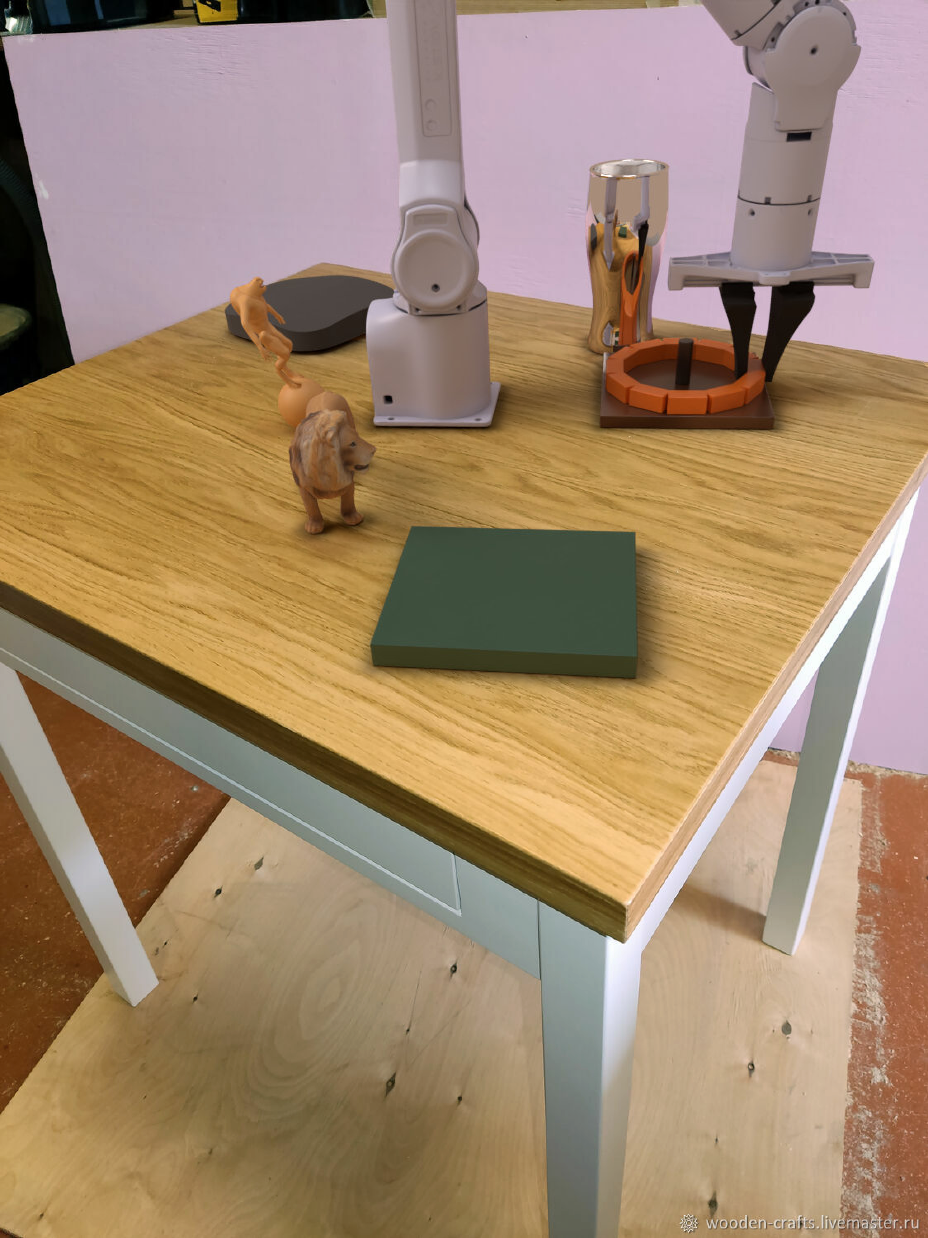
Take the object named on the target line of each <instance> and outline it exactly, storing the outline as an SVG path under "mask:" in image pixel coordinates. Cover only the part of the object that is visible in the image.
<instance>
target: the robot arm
mask: <svg viewBox="0 0 928 1238" xmlns="http://www.w3.org/2000/svg"><path fill="white" fill-rule="evenodd" d="M699 2H700V3H701V4H702V6H703V7H704V8H705V10H707V12H708V13H709V14H710V16H711V17H712V18H713V20H714V21H715V22H716V23H717V25H718V26H719V27H720V28H721V30H722V32H723V33H724V34H725V35H726V36H727V38H728V39H729V40H730V41H731V43H732V44H733V45H734V46H737V47H742V61H743V65H744V68H745V71H746V73H747V74H748V75H750V76H752V77H754V78H755V79H756V80H757V81H758V82H759V83H760V84H759V83H758V82H754V81H753V82H752V83H751V91H750V100H749V108H748V117H747V121H746V123H745V129H744V137H743V146H742V153H741V163H740V171H739V180H738V188H737V195H736V204H735V213H734V220H733V230H732V237H731V247H730V251H721V252H714V253H706V254H699V255H690V256H689V255H687V256H671V257H669V258H668V269H667V270H668V272H667V290H668V292H669V291H673V292H674V291H683V289H684V288H685V289H686V288H718V291H719V295H720V299H721V302H722V307H723V309H724V312H725V315H726V317H727V321H728V324H729V329H730V333H731V339H732V344H733V347H734V359H735V369H734V374H735V378H736V381H737V380H738V379H740V378H741V377H742V376H743V375H745V374H746V373H747V372H748V357H749V352H750V343H751V337H752V332H753V328H754V323H755V322H754V321H755V316H756V313H757V308H758V305H757V303H756V300H755V299H756V291H755V289H754V287H755V288H760V287H761V288H763V287H764V288H765V287H767V288H768V287H769V288H770V287H771V291H770V293H771V294H770V304H769V315H768V322H767V323H768V324H767V330H766V336H765V341H764V345H763V350H762V353H761V358H760V359H761V360H762V363H763V367H764V370H765V373H766V374H765V381H764V382H765V383H772V382H773V380H774V375H775V374H776V371H777V368H778V366H779V363H780V361H781V359H782V356H783V354H784V352H785V350H786V348H787V346H788V344H789V343H790V342H791V339H792V338H793V336H794V334H795V333H796V331H797V330H798V328H799V327H800V325H801V324H802V322H803V321H804V320H805V319H806V318H807V316H808V315H809V314H810V313H811V311H812V309H813V307H814V305H815V301H816V294H815V292H814V289H815V287H844V286H845V287H846V286H851V287H853V288H854V289H870V288H871V287H870V286H871V281H872V278H873V272H874V268H875V260H874V259H873V257H872V256H871V255H870V254H869V253H842V252H830V251H829V252H828V251H818V250H812V249H813V246H814V239H815V234H816V229H817V228H816V227H817V221H818V215H819V214H818V213H819V210H820V204H821V197H822V193H823V188H824V187H823V186H824V182H825V175H826V169H827V163H828V157H829V151H830V146H831V140H832V133H833V128H834V122H833V121H834V115H835V109H836V104H837V98H838V93H839V90H840V89H841V88H842V87H843V85H844V84H845V83H846V82H847V81H848V79H849V78H850V77H851V75H852V74H853V72H854V71H855V68H856V66H857V65H858V61H859V60H860V59H859V58H860V56H861V52H862V46H861V45H860V44H858V43H857V42H858V37H857V36H856V31H857V26H856V21H855V19H854V15H853V14H852V12H851V10H850V9H849V8H848V6H847V5H845V4H844V2H842V1H841V0H699ZM457 9H458V8H457V0H385V11H386V23H387V35H388V46H389V48H388V49H389V58H390V60H389V61H390V71H391V73H390V74H391V84H392V98H393V108H394V121H395V133H396V144H397V156H398V214H399V215H398V217H399V228H398V235H397V238H396V240H395V243H394V245H393V247H392V250H391V255H390V260H389V261H390V263H389V264H390V265H389V269H390V270H389V271H390V276H391V280H392V283H393V285H394V287H395V288H394V289H393V290H394V294H393V298H388V299H378V300H374V301H372V302H371V304H370V306H369V309H368V314H367V322H366V333H365V343H366V355H367V362H368V369H369V378H370V385H371V387H370V388H371V394H372V402H373V403H372V404H373V410H374V417H373V425H374V426H376V427H377V426H378V427H453V428H454V427H457V428H458V427H463V428H465V427H466V428H469V427H470V428H473V427H474V428H482V427H483V428H486V427H490V426H491V425H492V422H493V418H494V415H495V411H496V407H497V403H498V400H499V396H500V393H501V387H502V386H501V382H499V381H491V359H490V358H491V356H490V335H489V329H490V328H489V309H488V288H487V286H486V285H485V284H483V283H482V281H480V280H479V275H480V261H479V254H478V249H479V245H480V238H481V232H480V226H479V222H478V218H477V215H476V214H475V213H474V211H473V208H472V206H471V205H470V203H469V200H468V196H467V191H466V174H465V162H464V161H465V160H464V148H463V127H462V125H463V124H462V123H463V122H462V106H461V105H462V104H461V103H462V102H461V82H460V81H461V80H460V78H461V77H460V58H459V57H460V56H459V36H458V35H459V34H458V11H457Z"/></svg>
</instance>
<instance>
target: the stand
mask: <svg viewBox="0 0 928 1238" xmlns="http://www.w3.org/2000/svg"><path fill="white" fill-rule="evenodd" d="M636 534H637V533H636V531H623V530H622V531H621V530H619V531H618V530H617V531H616V530H583V529H582V530H580V529H547V528H544V529H543V528H542V529H541V528H539V529H538V528H510V527H509V528H508V527H507V528H502V527H467V526H466V527H465V526H464V527H463V526H431V525H430V526H428V525H427V526H426V525H411V526H410V529H409V533H408V535H407V537H406V540H405V544H404V547H403V550H402V552H401V555H400V557H399V561H398V564H397V566H396V569H395V573H394V575H393V578H392V581H391V583H390V587H389V589H388V592H387V595H386V598H385V601H384V603H383V606H382V609H381V612H380V615H379V617H378V621H377V623H376V626H375V629H374V631H373V635H372V636H371V641H370V643H369V646H370V651H371V653H370V654H371V659H372V665H373V666H378V667H382V666H383V667H400V668H401V667H402V668H418V669H419V668H420V669H439V670H460V671H461V670H462V671H483V672H501V673H502V672H504V673H520V674H521V673H523V674H525V673H526V674H543V675H544V674H545V675H563V676H580V677H581V676H583V677H605V678H622V679H623V678H624V679H625V678H626V679H636V678H637V670H638V657H639V656H638V655H639V654H638V653H639V652H638V602H637V601H638V597H637V594H638V593H637V592H638V591H637V540H636V539H637V537H636Z"/></svg>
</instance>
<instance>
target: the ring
mask: <svg viewBox="0 0 928 1238" xmlns="http://www.w3.org/2000/svg"><path fill="white" fill-rule="evenodd" d="M681 338H682V337H663V338H662V340H661V339H660V338H654V340H650V341H645V342H640V343H636V344H631V345H629V347H624V348H622V349H621V350H619V351H618V352H616V353H615V354H613V355H611V356H610V357H609V358H608V359H607V361H606V385H605V388H606V389H607V391H608V392H609V393H610V394H612V395H613V396H615V397H616V398H617V399H619V400H620V401H621V402H623V403H624V404H627V403H629V405H630V406H633V407H637V408H641V409H646V410H650V411H654V412H658V413H663V412H664V411H665V410H667V414H698V415H705V414H706V411H708V412H709V413H711V414H713V413H717V412H721V411H725V410H730V409H734V408H738V407H742V406H743V404H748V403H749V402H750V401H752V400H753V399H754V398H755V397H756V396H757V395H759V394H760V393H761V392H762V389H763V387H764V381H765V374H766V373H765V370H764V367H763V363H762V360H761V359H762V358H760V356H758V355H757V354H756V355H757V356H756V355H754V354H752V353H750V351H749V357H748V372H747V373H746V374H745V375H743V376H742V377H741V378H740V379H738V380H737V381H736V382H735V383H733V384H730V385H725V386H721V387H717V388H712V389H708V390H666V389H662V388H657V387H653V386H649V385H644V384H640V383H639V382H637V381H636V380H634V379H633V378H631V377H630V376H628V375H627V374H626V373H627V372H629V371H630V370H632V369H633V368H634V367H636V366H637V365H642V364H646V363H651V362H656V361H660V360H677V353H678V342H679V339H681ZM690 338H691V339H693V340H694V347H693V357H692V359H695V360H700V361H705V362H710V363H715V364H719V365H724V366H726V367H727V368H729V369H731V370H733V371H734V369H735V359H734V347H733V343H727V342H723V341H718V340H713V339H707V338H701V339H699V338H698V337H690Z"/></svg>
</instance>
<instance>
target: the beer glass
mask: <svg viewBox="0 0 928 1238" xmlns="http://www.w3.org/2000/svg"><path fill="white" fill-rule="evenodd" d="M669 176H670V165H669V164H668V163H666V162H664V161H661V160H655V159H645V158H623V159H613V160H605V161H601V162H598V163H595V164H593V165H591V166H590V167H589V168H588V181H587V182H588V183H587V191H586V203H585V219H584V222H585V223H584V228H585V230H584V233H585V234H584V235H585V236H584V237H585V238H584V239H585V248H586V259H587V265H588V273H589V278H590V285H591V294H592V316H591V323H590V329H589V333H588V337H587V343H586V344H587V347H588V349H590V350H591V351H592V352H594V353H597V354H599V355H603V353H616V352H618V351H619V350H621V349H622V348H624V347H629V345H631V344H636V343H640V342H645V341H650V340H654V339H655V334H654V326H653V300H654V295H655V290H656V285H657V280H658V277H659V272H660V268H661V265H662V261H663V255H664V251H665V246H666V240H667V234H668V224H669V211H670V210H669V207H670V184H669V183H670V180H669V179H670V177H669Z"/></svg>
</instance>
